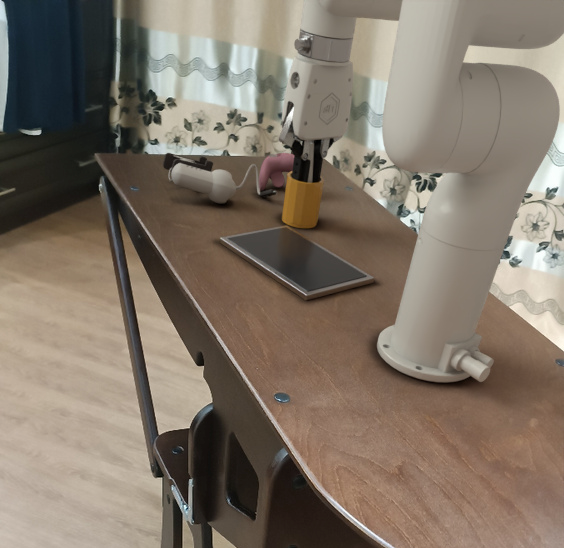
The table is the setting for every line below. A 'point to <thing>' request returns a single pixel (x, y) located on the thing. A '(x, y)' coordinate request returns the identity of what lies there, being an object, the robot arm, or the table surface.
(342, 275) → the tablet
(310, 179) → the stylus
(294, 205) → the pen cup
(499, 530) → the table surface
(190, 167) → the clip-on lamp
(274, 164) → the video game controller
